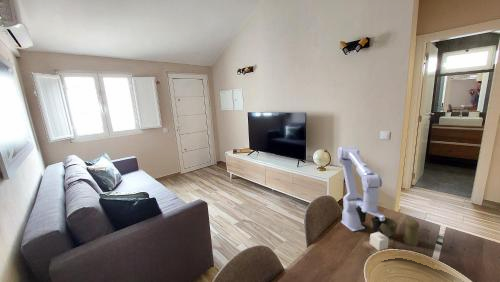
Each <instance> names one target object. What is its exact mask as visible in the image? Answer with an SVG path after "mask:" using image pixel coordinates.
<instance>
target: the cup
mask: <svg viewBox="0 0 500 282" xmlns="http://www.w3.org/2000/svg"><path fill="white" fill-rule="evenodd" d="M398 224H399V222H397V220H395V219H393V218H390V217H387V216H385V221H384V222H383V223H382V224H381V225H380V227H379V228H380V230H381V231H382V234H383V235H385V236H386V237H388V238H391V237H392V236H393V235H394V234H395V233H396V232H397V228H398Z"/></svg>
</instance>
